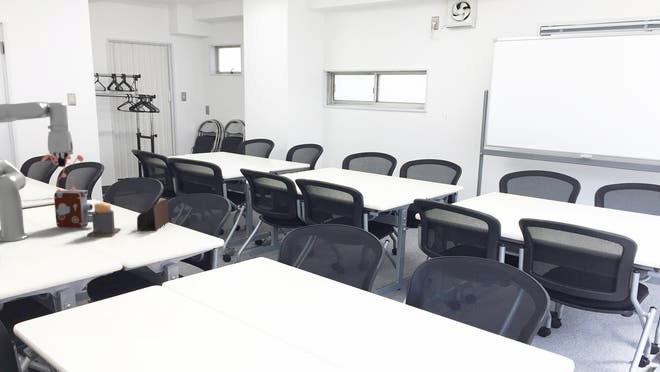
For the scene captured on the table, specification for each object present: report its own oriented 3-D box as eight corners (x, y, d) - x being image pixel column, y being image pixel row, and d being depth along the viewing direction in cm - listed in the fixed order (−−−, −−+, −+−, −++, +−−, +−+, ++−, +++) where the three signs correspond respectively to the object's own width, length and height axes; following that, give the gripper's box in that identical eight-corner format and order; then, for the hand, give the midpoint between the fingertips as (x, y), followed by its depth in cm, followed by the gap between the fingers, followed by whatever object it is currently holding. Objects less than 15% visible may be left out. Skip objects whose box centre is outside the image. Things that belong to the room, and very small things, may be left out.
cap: (92, 219, 252) (91, 205, 251) (98, 216, 260) (97, 202, 259) (107, 219, 253) (106, 205, 252) (113, 216, 260) (112, 202, 259)
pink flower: (88, 194, 356) (84, 145, 351) (48, 199, 338) (43, 147, 333) (80, 192, 367) (75, 144, 361) (40, 197, 349) (35, 146, 343)
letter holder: (169, 222, 282) (168, 197, 280) (155, 232, 263) (154, 205, 260) (151, 222, 282) (150, 197, 280) (136, 231, 263) (135, 205, 261)
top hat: (87, 236, 252) (85, 214, 250) (97, 230, 263) (95, 209, 261) (111, 236, 252) (110, 214, 250) (120, 230, 264) (119, 209, 262)
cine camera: (91, 229, 265) (88, 192, 262) (54, 229, 265) (51, 191, 262) (99, 225, 274) (97, 189, 271) (64, 224, 274) (61, 188, 271)
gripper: (39, 128, 239) (42, 167, 242) (71, 129, 240) (74, 167, 243) (47, 127, 246) (50, 165, 249) (78, 128, 247) (81, 165, 250)
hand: (62, 166), depth 246 cm, fingers closed
